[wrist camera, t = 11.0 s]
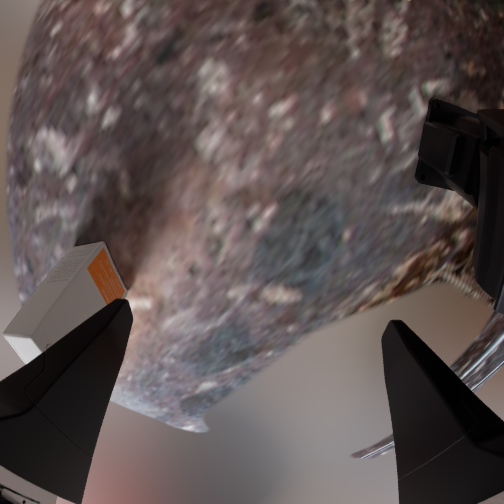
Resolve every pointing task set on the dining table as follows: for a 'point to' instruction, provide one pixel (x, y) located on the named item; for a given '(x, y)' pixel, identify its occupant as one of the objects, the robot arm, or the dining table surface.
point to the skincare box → (65, 299)
